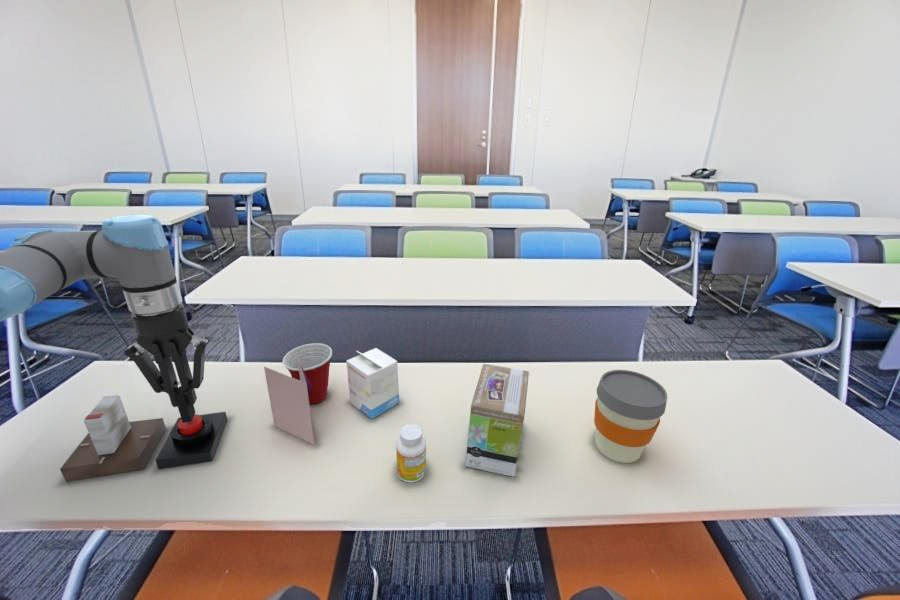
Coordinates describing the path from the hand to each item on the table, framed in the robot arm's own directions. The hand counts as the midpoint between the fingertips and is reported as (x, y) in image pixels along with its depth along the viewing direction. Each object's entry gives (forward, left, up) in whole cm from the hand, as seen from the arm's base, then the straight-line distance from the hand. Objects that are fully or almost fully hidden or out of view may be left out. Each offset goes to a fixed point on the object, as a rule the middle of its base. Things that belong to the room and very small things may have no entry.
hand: (189, 417), depth 77 cm
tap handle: (-13, 0, -3) cm, 13 cm away
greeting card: (+19, -1, -7) cm, 20 cm away
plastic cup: (+22, +10, -7) cm, 25 cm away
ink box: (+36, +5, -7) cm, 37 cm away
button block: (0, 0, -6) cm, 6 cm away
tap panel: (-13, 0, -6) cm, 14 cm away
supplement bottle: (+41, -17, -7) cm, 45 cm away
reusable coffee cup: (+84, -20, -7) cm, 87 cm away
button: (0, 0, -3) cm, 3 cm away
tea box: (+59, -14, -7) cm, 61 cm away
